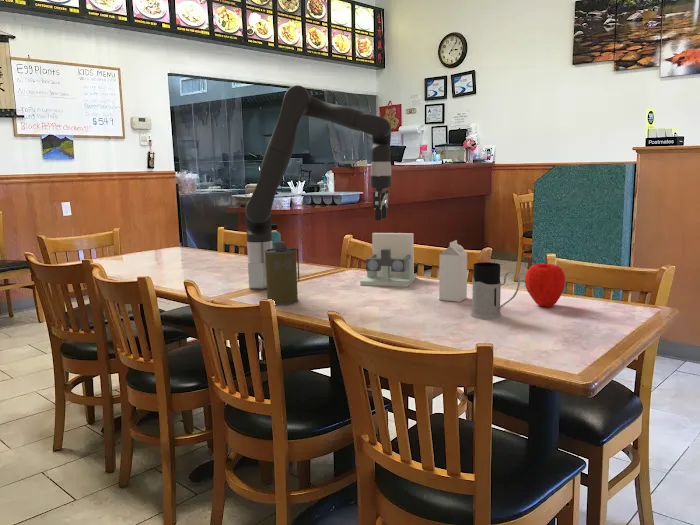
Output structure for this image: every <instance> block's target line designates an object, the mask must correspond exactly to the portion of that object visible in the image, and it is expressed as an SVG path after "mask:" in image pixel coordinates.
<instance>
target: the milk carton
mask: <svg viewBox="0 0 700 525" xmlns="http://www.w3.org/2000/svg"><path fill="white" fill-rule="evenodd" d="M438 260H439V262H438V264H439V269H438V270H439V271H438V272H439V277H438V278H439V279H438V280H439V282H438V284H439V286H438V288H439V290H438V291H439V293H438V294H439V296H438V297H439V300H440V301H446V302H447V301H449V302H458V303H459V302H460V303H461V302H462V301H464V300H465V299H467V297H468V292H467V291H468V252H467V251H466V250H465V248H464V247H463V246H462V245H461V244H459V243H458V240H457V239H455V240H453V241H450V242H449V246H448V247H447V248H445V249H444V251H442V252H440V253H439V259H438Z"/></svg>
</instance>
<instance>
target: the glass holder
mask: <svg viewBox="0 0 700 525" xmlns="http://www.w3.org/2000/svg"><path fill="white" fill-rule="evenodd" d="M472 269H473V271H472V296H471V298H472V299H471V300H472V306H471V307H472V310H471V313H470V316H471V317H472V318H475V319H479V320H497V319H500V318H502V312H501V308H502V307H504V306H505V305H506V304H508V303H510V302H511V301H512V300H513V299H514V298H515V297H516V295H517V294H518V291H519V288H520V284H521V278H520V276H519V274H518V273H517V272H516V271H513V270H511V271H508V272H506V273H505V274H504V278H503V283H502V282H501V264H500V263H498V262H490V261H489V262H482V261H481V262H476V263H475V262H474V263H473V267H472ZM511 273H513V274H514V275H516V277H517V288H516V290H515V292H514V294H513V295H512V296H511V298H509V299H508V300H507V301H505V302H504V303H503V304H502V305H501V287H502V286H504V285H505V284H506V281H507V276H508V275H509V274H511Z"/></svg>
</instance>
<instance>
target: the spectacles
mask: <svg viewBox="0 0 700 525" xmlns="http://www.w3.org/2000/svg"><path fill="white" fill-rule="evenodd" d="M408 259H410V255H407V256H406V257H404V258H391V249H382V250H381V258H376V254H373V253H372V255H370V256H368V257H367V258H366V259H365V268H366V269H365V270H366V272H367V271H380V270H381V266H391V272H405V271H406V261H407V260H408Z"/></svg>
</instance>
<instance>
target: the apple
mask: <svg viewBox="0 0 700 525" xmlns="http://www.w3.org/2000/svg"><path fill="white" fill-rule="evenodd" d="M524 284H525V285H524V286H525V289H526V291H527V293H528V294H529V295H530V297H531V299H532V301H534V302H535V304H537V305H538V306H541V307H546V308H551V307H554V306H555V304H557V302H558V301H559V300H560V298H561V297H562V294H563V292H564V290H565V288H566V275H565V272H564V271H563V269H562V267H560V266H559V265H557V264H554V263H553V264H552V263H547V262H545V263H542V262H540V263H535V264H533V265H531V266H530V267H529V268H528V269H527V271H526V273H525V278H524Z"/></svg>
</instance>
